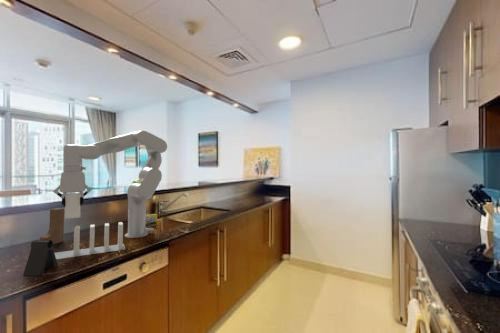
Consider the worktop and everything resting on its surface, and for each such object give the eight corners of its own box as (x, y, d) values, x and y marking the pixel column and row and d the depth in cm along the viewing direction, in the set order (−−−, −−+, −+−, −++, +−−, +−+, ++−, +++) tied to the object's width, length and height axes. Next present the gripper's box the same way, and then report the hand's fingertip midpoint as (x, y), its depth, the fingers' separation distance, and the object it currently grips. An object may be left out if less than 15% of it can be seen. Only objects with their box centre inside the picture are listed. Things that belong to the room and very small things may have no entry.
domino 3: (94, 248, 118) (94, 224, 118) (93, 252, 113) (94, 227, 113) (89, 249, 117) (90, 224, 117) (89, 253, 112) (90, 227, 112)
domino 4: (108, 246, 121) (108, 223, 122) (108, 250, 116) (109, 225, 116) (104, 247, 120) (104, 223, 121) (104, 251, 115) (104, 226, 116)
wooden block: (46, 246, 121) (47, 211, 121) (39, 245, 122) (40, 210, 122) (63, 241, 130) (64, 208, 130) (57, 240, 131) (58, 207, 131)
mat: (123, 244, 127) (123, 243, 127) (125, 250, 118) (125, 249, 118) (50, 254, 111) (50, 253, 111) (46, 261, 102) (46, 260, 102)
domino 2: (79, 250, 115) (79, 225, 115) (78, 254, 110) (79, 228, 110) (74, 251, 114) (75, 226, 114) (73, 255, 109) (74, 228, 109)
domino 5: (121, 245, 125) (122, 221, 125) (122, 248, 120) (123, 224, 120) (117, 245, 124) (118, 222, 124) (118, 249, 119) (119, 224, 119)
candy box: (133, 229, 158) (134, 216, 158) (132, 228, 160) (132, 216, 160) (157, 225, 170) (157, 213, 170) (156, 225, 172) (156, 213, 172)
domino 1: (65, 217, 119) (65, 193, 119) (80, 216, 122) (80, 193, 122) (65, 218, 117) (65, 194, 117) (80, 217, 120) (80, 193, 120)
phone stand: (43, 266, 98) (44, 237, 98) (58, 266, 98) (59, 237, 98) (22, 276, 89) (23, 244, 89) (39, 276, 89) (40, 244, 89)
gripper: (93, 169, 127) (93, 203, 127) (52, 169, 118) (52, 206, 118) (93, 169, 121) (93, 205, 121) (49, 169, 112) (49, 208, 112)
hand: (72, 205), depth 119 cm, fingers closed on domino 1, 5 cm apart
